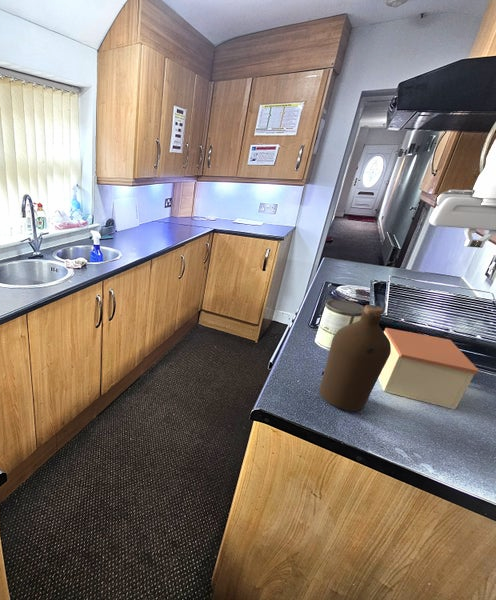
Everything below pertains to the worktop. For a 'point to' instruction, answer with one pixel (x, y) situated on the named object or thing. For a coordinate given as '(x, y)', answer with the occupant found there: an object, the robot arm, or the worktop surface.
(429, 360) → the lid
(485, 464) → the worktop surface
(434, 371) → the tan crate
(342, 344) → the brown bottle
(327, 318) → the coffee can
